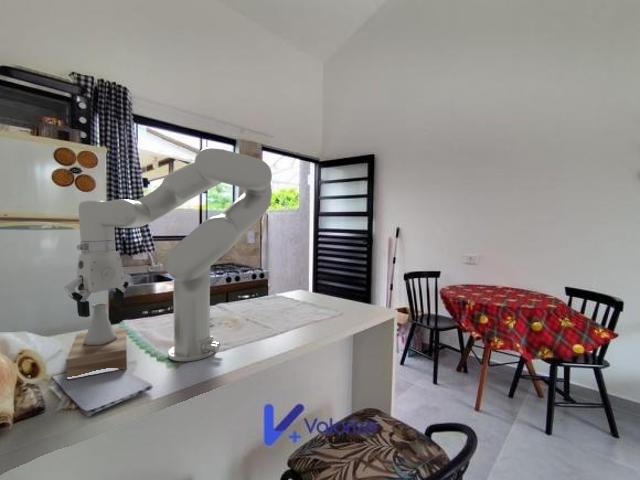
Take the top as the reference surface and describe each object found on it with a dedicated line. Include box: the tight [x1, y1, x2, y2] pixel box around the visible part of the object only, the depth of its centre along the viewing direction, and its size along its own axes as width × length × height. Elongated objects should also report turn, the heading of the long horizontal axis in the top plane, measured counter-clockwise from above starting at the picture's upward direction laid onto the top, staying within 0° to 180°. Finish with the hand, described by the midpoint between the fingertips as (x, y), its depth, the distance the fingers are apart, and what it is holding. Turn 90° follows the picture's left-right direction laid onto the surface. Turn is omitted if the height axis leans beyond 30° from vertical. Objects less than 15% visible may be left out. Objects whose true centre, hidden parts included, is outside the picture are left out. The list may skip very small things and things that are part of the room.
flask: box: [83, 302, 118, 345], centre depth 86 cm, size 7×7×10 cm
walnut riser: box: [65, 326, 128, 378], centre depth 86 cm, size 20×12×5 cm, turn 31°
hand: (102, 311), depth 86 cm, fingers open, 9 cm apart
